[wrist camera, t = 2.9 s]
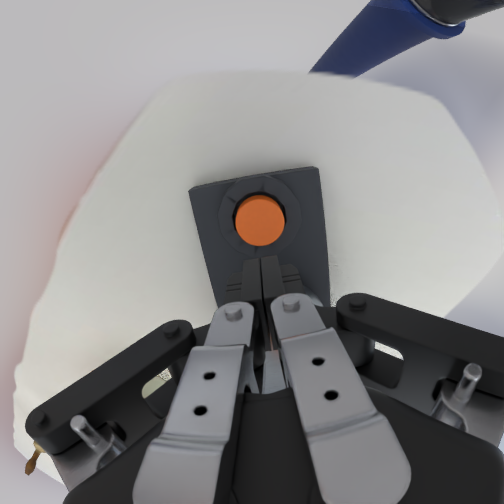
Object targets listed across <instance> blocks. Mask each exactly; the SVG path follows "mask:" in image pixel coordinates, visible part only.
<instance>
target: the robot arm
mask: <svg viewBox="0 0 504 504" xmlns="http://www.w3.org/2000/svg"><path fill="white" fill-rule="evenodd" d="M408 1H409V2H410V3H411V5H412V6H413V7H414V8H415V9H416V10H417V11H418V12H419V13H421V14H422V15H423V16H424V17H426V18H427V19H428V20H430V21H432V22H433V23H435V24H437V25H440V26H443V27H453V26H456V25H458V24H459V23H462V22H463V21H466V20H468V19H471V18H474V17H477V16H480V15H482V14H485V13H487V12H490V11H493V10H496V9H499V8H502V7H504V0H408ZM261 267H262V268H261ZM270 334H271V338H270ZM271 340H272V345H273V350H278V354H279V360H280V366H281V370H282V375H283V379H284V383H285V389H282V390H279V391H276V392H273V393H270V394H265V380H266V364H265V359H266V353H265V352H266V351H272V349H271ZM375 341H376V342H379V343H381V344H384V345H386V346H389V347H391V348H394V349H396V350H398V351H399V352H400V353H401V354H402V356H403V359H404V360H401V359H399V358H396V357H394V356H392V355H389V354H387V353H384V352H382V351H380V350H377V349H375ZM166 368H168V370H169V372H170V374H171V376H172V378H171V379H169V380H168V381H167V382H166V383H164V384H163V385H162V386H160V387H159V388H158V389H156V390H155V391H154V392H153V393H151V394H150V395H149V396H147V397H146V398H143V396H142V389H143V387H144V385H145V384H146V383H147V382H149V381H150V380H152V379H153V378H154V377H156V376H157V375H158V374H160V373H161V372H162V371H164V370H165V369H166ZM25 429H26V432H27V433H28V434H29V436H30V437H31V438H32V439H33V440H34V441H36V442H37V443H38V444H39V445H40V446H41V447H42V448H43V450H44V451H45V452H46V453H47V454H48V455H49V456H50V457H51V458H52V460H53V462H54V464H55V466H56V468H57V470H58V472H59V474H60V476H61V478H62V480H63V482H64V484H65V485H66V487H67V489H68V491H69V493H68V495H67V496H66V498H65V500H64V502H63V504H504V454H503V453H502V451H501V450H500V449H499V448H498V446H499V444H500V441H501V438H502V435H503V433H504V337H500V336H497V335H494V334H491V333H488V332H485V331H482V330H478V329H475V328H472V327H469V326H466V325H463V324H459V323H456V322H453V321H450V320H447V319H444V318H441V317H437V316H434V315H431V314H428V313H425V312H422V311H419V310H416V309H412V308H409V307H406V306H403V305H400V304H397V303H394V302H391V301H387V300H384V299H381V298H378V297H375V296H372V295H369V294H365V293H352V294H348V295H345V296H343V297H341V298H340V299H339V300H338V301H337V304H336V307H323V306H318V305H315V304H313V302H312V300H311V298H310V297H309V296H307V295H306V293H305V290H304V287H303V284H302V281H301V278H300V275H299V272H298V269H297V268H296V267H295V266H293V265H292V264H287V265H281V266H279V262H278V258H277V255H275V256H269V257H263V258H261V263H260V258H257V259H251V260H245V261H243V272H237V273H233V274H232V275H231V276H230V277H229V278H228V280H227V287H226V292H225V298H224V304H223V306H221V307H220V308H218V309H217V310H216V311H215V313H214V316H213V319H212V322H211V323H210V324H208V325H205V326H202V327H199V328H196V329H193V328H192V325H191V323H190V322H188V321H186V320H173V321H169V322H167V323H165V324H163V325H161V326H159V327H158V328H157V329H155V330H154V331H152V332H151V333H149V334H148V335H146V336H145V337H143V338H142V339H140V340H139V341H137V342H136V343H134V344H133V345H131V346H130V347H128V348H127V349H125V350H124V351H122V352H121V353H119V354H117V355H116V356H114V357H113V358H111V359H110V360H108V361H107V362H105V363H104V364H102V365H101V366H99V367H98V368H96V369H95V370H93V371H92V372H90V373H89V374H87V375H86V376H84V377H83V378H81V379H80V380H78V381H76V382H75V383H73V384H72V385H70V386H69V387H67V388H66V389H64V390H63V391H61V392H60V393H58V394H57V395H55V396H53V397H52V398H50V399H49V400H47V401H46V402H44V403H43V404H41V405H40V406H38V407H36V408H35V409H34V410H33V411H32V412H31V413H30V414H29V415H28V417H27V419H26V423H25Z"/></svg>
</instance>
